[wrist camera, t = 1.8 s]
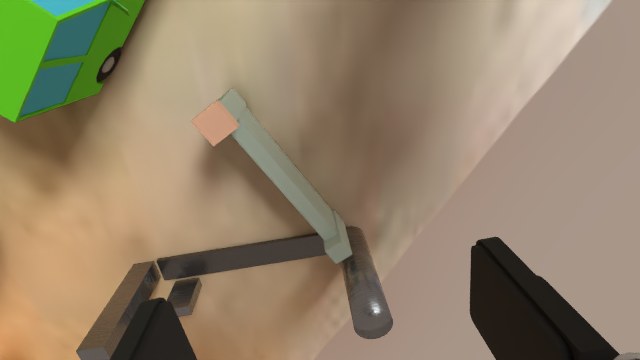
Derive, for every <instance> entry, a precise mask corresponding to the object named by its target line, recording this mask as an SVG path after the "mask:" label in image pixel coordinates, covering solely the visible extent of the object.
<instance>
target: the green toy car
mask: <svg viewBox="0 0 640 360" xmlns="http://www.w3.org/2000/svg"><path fill="white" fill-rule="evenodd" d="M144 1H145V0H0V115H1V116H3V117H5V118H7V119H9V120H10V121H12V122H14V123H15V122H18V121H21V120H24V119H27V118H29V117H32V116H35V115H38V114H41V113H44V112H47V111H49V110H52V109H55V108H58V107H61V106H64V105H66V104H69V103H72V102H75V101H78V100H81V99H84V98H86V97H89V96H92V95H95V94H98V93H99V92H100V90H101V88H102V86H103V84H104V82H102V80H104V79H105V78H107V76H108V75H109V74H110V73H111V72H112V71H113V69H114V68H115V66H116V64H117V62H118V60H119V58H120V55H121V50H120V48H119V47H122V46H123V44H124V42H125V40H126V38H127V36H128V34H129V32H130V30H131V28H132V26H133V24H134V22H135V20H136V18H137V16H138V14H139V12H140V10H141V8H142V5H143V3H144Z"/></svg>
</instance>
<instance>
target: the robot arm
mask: <svg viewBox="0 0 640 360" xmlns="http://www.w3.org/2000/svg"><path fill="white" fill-rule="evenodd" d="M470 315H471V318H472V321H473V323H474V324H475V326H476V328H477V329H478V331H479V333H480V334H481V336H482V337H483V339H484V341H485V342H486V344H487V346H488V347H489V349H490V350H491V352H492V354H493V355H494V357H495V359H496V360H640V353H625V354H621V355H620V354H619V353H618V352H617V351H616V350H615V349H614V348H613V347H612V346H611V345H610V344H609V343H608V342H607V341H606V340H605V339H604V338H603V337H602V336H601V335H600V334H599V333H598V332H597V331H596V330H595V329H594V328H593V327H592V326H591V325H590V324H589V323H588V322H587V321H586V320H585V319H584V318H583V317H582V316H581V315H580V314H579V313H578V312H577V311H576V310H575V309H573V307H572V306H571V305H570V304H569V303H568V302H567V301H566V300H565V299H563V297H561V295H560V294H559V293H557V291H556V290H555V289H554V288H553V287H552V286H550V284H549V283H548V282H546V280H544V279H543V278H542V277H540V276H537V275H535V274H534V273H533V272H532V271H531V270H530V269H529V268H528V267H527V266H526V265H525V264H524V263H523V262H522V260H520V258H518V256H516V254H515V253H514V252H513V251H512V250H511V249H510V248H509V247H508V246H507V245H506V244H504V242H503V241H502V240H501V239H500V238H498V237H492V238H487V239H481V240H478V241H477V242H476V245H475V246H472V248H471V281H470ZM110 360H197V358H196V356H195V354H194V352H193V349H192V347H191V345H190V343H189V340H188V338H187V336H186V334H185V332H184V329H183V327H182V325H181V323H180V320H179V318H178V316H177V314H176V312H175V309H174V307H173V305H172V303H171V302H170V301H167V302H166V300H165V299H164V298H156V299H151V300H145V301H143V302H141V304H140V305H139V307H138V309H137V310H136V312H135V314H134V316H133V318H132V320H131V321H130V323H129V325H128V327H127V329H126V330H125V332H124V334H123V336H122V338H121V340H120V341H119V343H118V345H117V347H116V349H115V351H114V352H113V354H112V356H111V358H110Z"/></svg>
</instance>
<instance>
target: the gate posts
mask: <svg viewBox="0 0 640 360" xmlns="http://www.w3.org/2000/svg"><path fill="white" fill-rule="evenodd" d="M345 228H346V232H347V235H348V239H349V243H350V247H351V251H352V255H350V256H349V257H347V258H346V259H344V260H342V261H341V266H342V271H343V276H344V280H345V285H346V290H347V295H348V300H349V305H350V310H351V315H352V319H353V324H354V329H355V332H356V333H357V334H358V335H359V336H360V337H363V338H366V339H376V338H380V337H382V336H384V335H385V334H387V333H388V332H389V331H390V330H391V328H392V325H393V319H392V317H391V314H390V311H389V308H388V305H387V302H386V299H385V296H384V293H383V291H382V287H381V284H380V281H379V278H378V275H377V272H376V270H375V267H374V264H373V261H372V258H371V255H370V252H369V249H368V246H367V243H366V240H365V237H364V234H363V232H362V231H361V230H360V229H359V228H357V227H353V226H349V227H345ZM321 255H327V253H326V252H325V248H324V241H323V238H322V237H321V236H320V235H319V234H318V233H316V234H310V235H304V236H297V237H291V238H285V239H279V240H272V241H266V242H260V243H253V244H247V245H241V246H235V247H228V248H222V249H216V250H209V251H203V252H197V253H191V254H184V255H178V256H172V257H165V258H159V259H158V260H157V263H158V265H159V268H160V270H161V273H162V275H163V278H164V280H171V279H177V278H183V277H189V276H196V275H202V274H208V273H214V272H221V271H227V270H233V269H239V268H246V267H252V266H258V265H264V264H271V263H277V262H283V261H289V260H296V259H302V258H308V257H314V256H321ZM159 279H160V275H159V272H158V270H157V267H156V265H155V263H154V261H151V262H145V263H139V264H134V265H133V266H132V268H131V269H130V271H129V272H128V274H127V275H126V277H125V278H124V280H123V281H122V283H121V284H120V286H119V287H118V289H117V290H116V292H115V293H114V295H113V296H112V298H111V299H110V301H109V302H108V304H107V305H106V307H105V308H104V310H103V311H102V313H101V314H100V316H99V317H98V319H97V320H96V322H95V323H94V325H93V326H92V328H91V329H90V331H89V332H88V334H87V335H86V337H85V338H84V340H83V341H82V343H81V344H80V346H79V347H78V349H77V350H76V352H77V354H78V356H79V357H80V359H81V360H110V358H111V356H112V354H113V352H114V351H115V349H116V347H117V345H118V343H119V341H120V340H121V338H122V336H123V334H124V332H125V330H126V329H127V327H128V325H129V323H130V321H131V320H132V318H133V316H134V314H135V312H136V310H137V309H138V307H139V305H140V304H141V302H143V301H145V300H149V298H150V296H151V294H152V292H153V290H154V288H155V287H156V285H157V283H158V281H159ZM201 286H202V284H201V281H200V279H199V278H192V279H186V280H180V281H176V282H175V284H174V286H173V288H172V290H171V293H170V295H169V297H168V299H167V301H170V302H171V303H172V305H173V307H174V309H175V312H176V314H177V316H178V317H179V316H185V315H191V314H192V312H193V309H194V306H195V303H196V300H197V297H198V294H199V292H200V289H201ZM167 301H166V302H167Z"/></svg>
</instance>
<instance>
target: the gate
mask: <svg viewBox="0 0 640 360" xmlns="http://www.w3.org/2000/svg"><path fill="white" fill-rule="evenodd" d="M191 123H192V124H193V125H194V126H195V127H196V128H197V129H198V130H199V131H200V132H201V134H202V135H203V136H204V137H205V138H206V139H207V140H208V141H209V142H210V143H211V144H212V145H213V147H214V146H215V145H216V144H218V143H219V142H220V141H221V140H223V139H224V138H225V137H227V136H228V135H229V134H231V135H232V136H233V138H234V139H235V140H236V141H237V142H238V143H239V144H240V146H241V147H242V148H243V149H244V150H245V151H246V152H247V153H248V155H249V156H250V157H251V158H252V159H253V160H254V161H255V162H256V164H257V165H258V166H259V167H260V168H261V169H262V170H263V172H264V173H265V174H266V175H267V176H268V177H269V178H270V179H271V181H272V182H273V183H274V184H275V185H276V186H277V187H278V188H279V190H280V191H281V192H282V193H283V194H284V195H285V196H286V198H287V199H288V200H289V201H290V202H291V203H292V204H293V205H294V207H295V208H296V209H297V210H298V211H299V212H300V213H301V215H302V216H303V217H304V218H305V219H306V220H307V221H308V222H309V224H310V225H311V226H312V227H313V228H314V229H315V230H316V231H317V233H318V234H319V235H320V236H321V237H322V238H323V241H324V248H325V252H326V253H327V254H328V256H329V257H330V258H331V259H332V260H333V261H334V262H335V263H336V264H338V263H339V262H341V261H342V260H344V259H346V258H347V257H349V256H350V255H352V251H351V247H350V243H349V239H348V235H347V232H346V228H345V224H344V221H343V220H342V219H341V217H340V216H339V215H338V214H337V213H336V211H335V210H333V211H332V210H331V209H330V207H329V206H328V205H327V204H326V203H325V201H324V200H323V199H322V198H321V197H320V195H319V194H318V193H317V192H316V190H315V189H314V188H313V187H312V186H311V184H310V183H309V182H308V181H307V180H306V178H305V177H304V176H303V175H302V174H301V172H300V171H299V170H298V169H297V168H296V166H295V165H294V164H293V163H292V162H291V160H290V159H289V158H288V157H287V156H286V154H285V153H284V152H283V151H282V150H281V148H280V147H279V146H278V145H277V144H276V142H275V141H274V140H273V139H272V138H271V136H270V135H269V134H268V133H267V132H266V130H265V129H264V128H263V127H262V126H261V124H260V123H259V122H258V121H257V119H256V118H255V117H254V116H253V115H252V113H251V112H250V111H249V110H248V109H247V107H246V102H245V101H244V100H243V99H242V98H241V96H240V95H239V94H238V93H237V92H236V90H235V89H234V88H232V89H231V90H230V91H228V92H227V93H226V94H225V95H223V96H222V97H221V98H220V99H218V100H216V101H215V102H214V103H213V104H211V105H210V106H209V107H208V108H206V109H205V110H204V111H203V112H201V113H200V114H199V115H198V116H196V117H195V118H194V119H193V120H192V121H191Z"/></svg>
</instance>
